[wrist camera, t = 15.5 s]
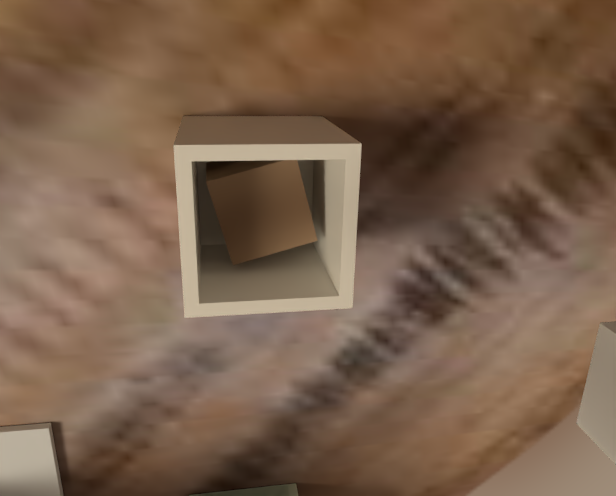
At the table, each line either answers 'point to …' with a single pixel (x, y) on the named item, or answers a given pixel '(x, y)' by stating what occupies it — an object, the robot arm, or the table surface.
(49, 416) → the table surface
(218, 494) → the sage open box
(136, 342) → the table surface
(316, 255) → the cream open box
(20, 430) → the felt mat
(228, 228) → the walnut block
